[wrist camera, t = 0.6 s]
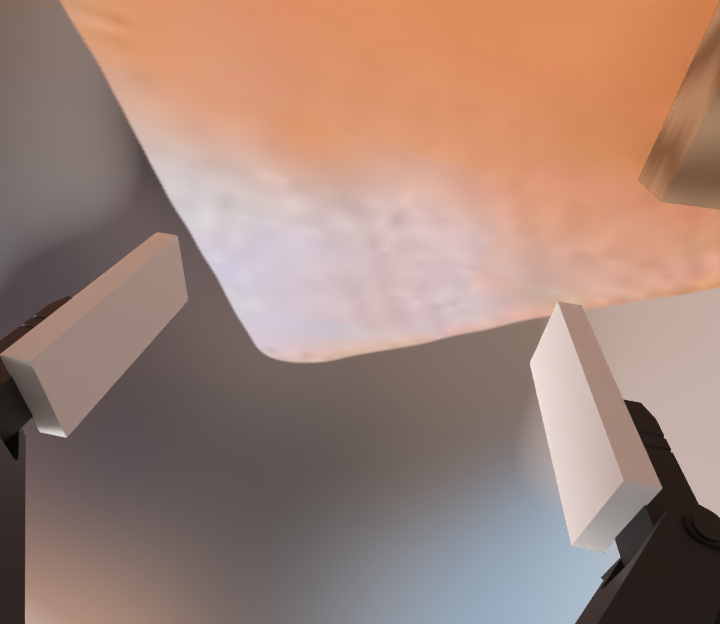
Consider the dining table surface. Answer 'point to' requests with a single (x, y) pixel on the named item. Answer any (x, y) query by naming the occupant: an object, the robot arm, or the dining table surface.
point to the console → (691, 134)
